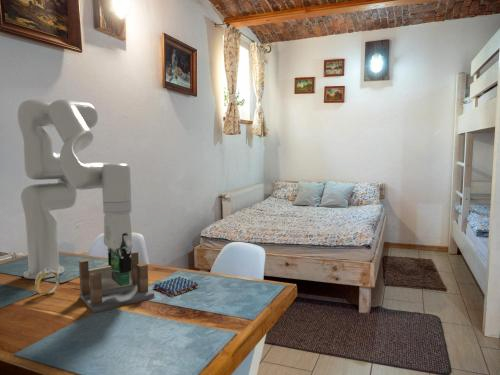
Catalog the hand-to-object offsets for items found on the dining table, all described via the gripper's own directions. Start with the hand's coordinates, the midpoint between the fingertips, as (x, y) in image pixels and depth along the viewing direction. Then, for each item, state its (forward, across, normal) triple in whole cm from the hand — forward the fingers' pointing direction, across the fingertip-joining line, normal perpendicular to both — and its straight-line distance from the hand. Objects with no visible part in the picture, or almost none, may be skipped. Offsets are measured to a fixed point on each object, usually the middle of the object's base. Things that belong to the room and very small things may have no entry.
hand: (119, 268), depth 108 cm
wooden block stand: (+10, -3, 0) cm, 10 cm away
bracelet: (+10, -19, -15) cm, 26 cm away
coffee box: (+4, 0, 0) cm, 4 cm away
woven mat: (+10, +1, +17) cm, 20 cm away
